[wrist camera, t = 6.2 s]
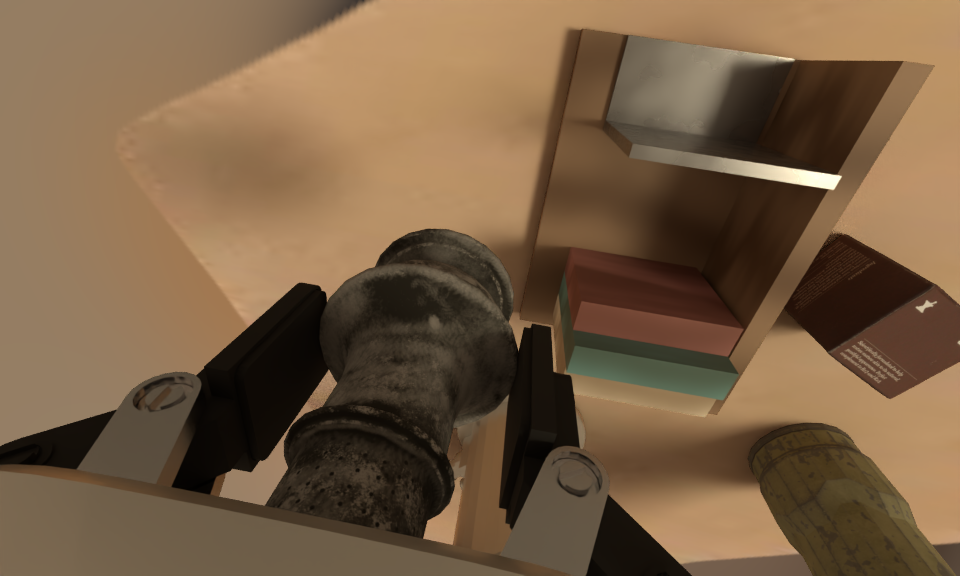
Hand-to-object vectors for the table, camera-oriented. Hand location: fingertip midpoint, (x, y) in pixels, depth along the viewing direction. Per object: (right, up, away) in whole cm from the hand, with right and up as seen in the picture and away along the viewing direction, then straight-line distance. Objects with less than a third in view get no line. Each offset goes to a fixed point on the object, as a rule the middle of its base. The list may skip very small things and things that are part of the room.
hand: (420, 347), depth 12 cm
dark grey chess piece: (0, +2, +3) cm, 3 cm away
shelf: (+13, +7, +16) cm, 22 cm away
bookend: (+14, +13, +11) cm, 22 cm away
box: (+27, +2, +17) cm, 32 cm away
